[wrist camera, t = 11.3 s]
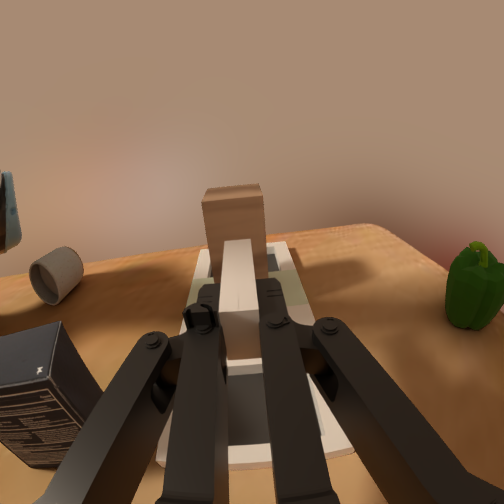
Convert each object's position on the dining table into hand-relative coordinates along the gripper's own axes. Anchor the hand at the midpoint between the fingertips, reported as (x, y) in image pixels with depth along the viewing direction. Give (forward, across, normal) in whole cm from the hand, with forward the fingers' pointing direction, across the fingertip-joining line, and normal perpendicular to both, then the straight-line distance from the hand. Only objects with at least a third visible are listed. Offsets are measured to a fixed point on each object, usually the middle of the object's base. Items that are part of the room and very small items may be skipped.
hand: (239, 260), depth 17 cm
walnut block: (+15, 0, -11) cm, 18 cm away
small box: (-7, -16, -13) cm, 22 cm away
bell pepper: (+3, +26, -13) cm, 29 cm away
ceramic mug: (+19, -32, -14) cm, 40 cm away
